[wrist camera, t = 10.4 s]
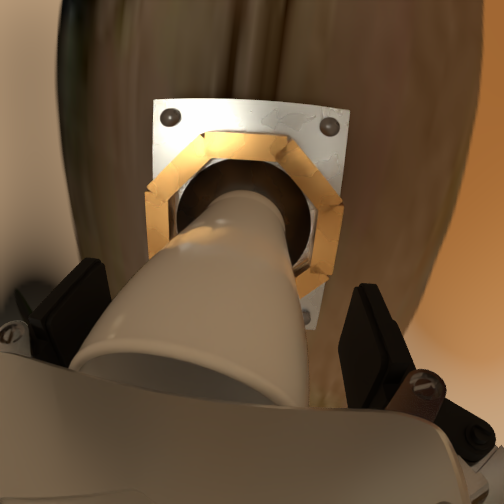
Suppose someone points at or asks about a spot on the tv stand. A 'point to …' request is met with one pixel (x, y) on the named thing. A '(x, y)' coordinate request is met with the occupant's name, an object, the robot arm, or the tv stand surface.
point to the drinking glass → (210, 313)
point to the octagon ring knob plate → (253, 174)
